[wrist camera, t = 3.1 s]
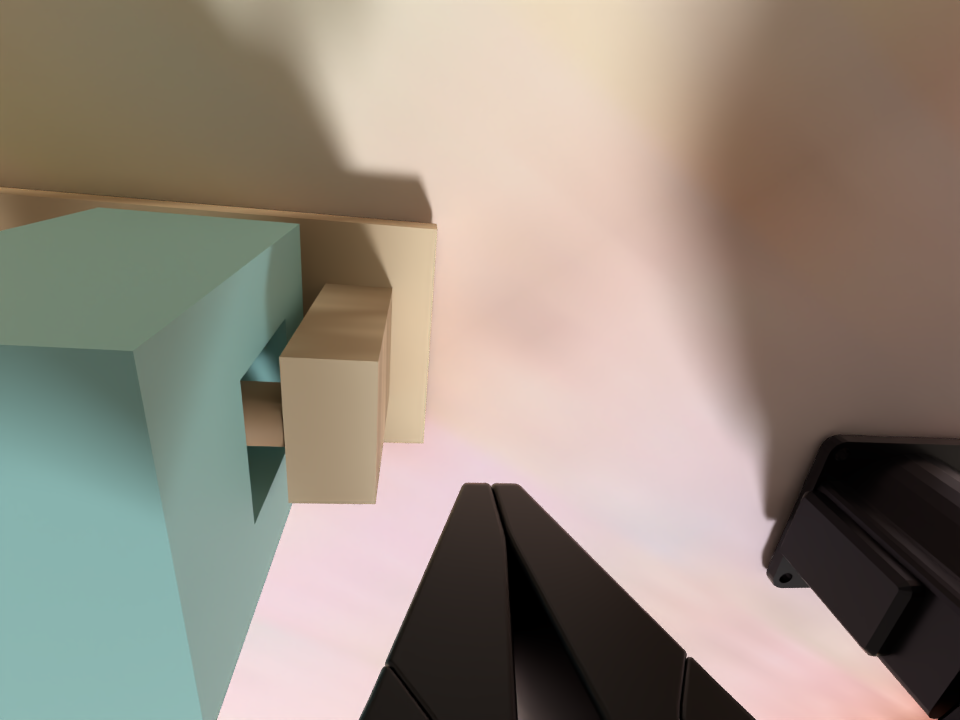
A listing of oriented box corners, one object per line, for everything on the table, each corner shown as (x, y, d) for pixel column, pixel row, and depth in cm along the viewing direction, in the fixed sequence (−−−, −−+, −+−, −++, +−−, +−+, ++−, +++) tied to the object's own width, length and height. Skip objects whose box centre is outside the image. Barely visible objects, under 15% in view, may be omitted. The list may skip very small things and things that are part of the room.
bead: (299, 223, 11) (132, 350, 5) (309, 455, 13) (208, 745, 7) (98, 207, 11) (-397, 325, 4) (146, 451, 13) (-121, 760, 7)
